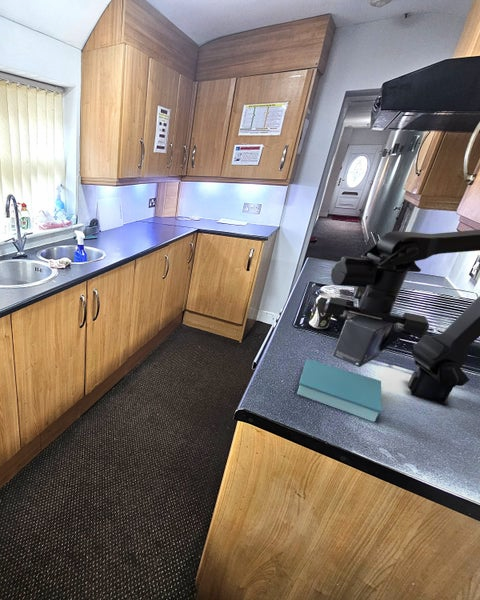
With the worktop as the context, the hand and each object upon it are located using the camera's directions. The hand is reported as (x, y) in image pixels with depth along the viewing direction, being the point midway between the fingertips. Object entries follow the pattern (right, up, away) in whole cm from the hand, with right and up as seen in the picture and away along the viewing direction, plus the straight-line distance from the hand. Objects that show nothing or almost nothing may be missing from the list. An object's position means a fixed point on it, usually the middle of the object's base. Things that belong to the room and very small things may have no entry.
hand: (360, 345), depth 82 cm
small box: (0, -3, +1) cm, 4 cm away
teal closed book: (-4, -13, +2) cm, 14 cm away
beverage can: (+15, +2, +35) cm, 38 cm away
